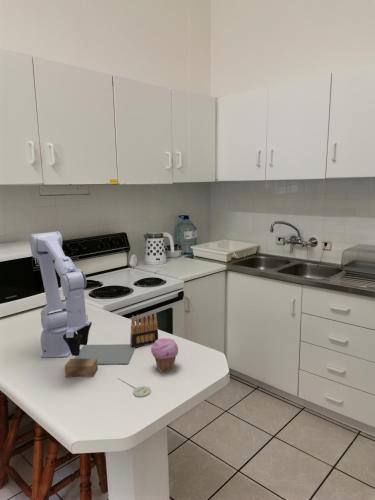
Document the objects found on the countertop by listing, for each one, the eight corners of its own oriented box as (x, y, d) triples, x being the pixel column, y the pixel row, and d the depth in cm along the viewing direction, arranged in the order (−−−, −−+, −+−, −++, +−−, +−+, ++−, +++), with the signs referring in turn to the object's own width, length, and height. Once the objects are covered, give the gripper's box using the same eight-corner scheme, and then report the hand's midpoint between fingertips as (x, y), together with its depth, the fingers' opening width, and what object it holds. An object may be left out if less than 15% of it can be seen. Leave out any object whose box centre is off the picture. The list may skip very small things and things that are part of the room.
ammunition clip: (131, 347, 138) (131, 316, 136) (130, 345, 139) (129, 315, 137) (158, 342, 143) (158, 312, 141) (156, 340, 144) (156, 310, 142)
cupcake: (149, 364, 125) (147, 336, 124) (173, 359, 129) (172, 332, 127) (157, 377, 117) (155, 347, 115) (182, 371, 120) (181, 342, 119)
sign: (124, 373, 120) (154, 390, 109) (124, 376, 120) (154, 392, 109) (110, 380, 116) (140, 397, 105) (110, 382, 116) (140, 400, 106)
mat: (69, 364, 127) (69, 363, 127) (84, 345, 142) (84, 344, 142) (128, 364, 126) (128, 363, 126) (136, 345, 141) (136, 344, 141)
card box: (65, 377, 119) (64, 366, 119) (71, 370, 124) (70, 358, 123) (93, 377, 119) (92, 366, 118) (97, 369, 124) (97, 358, 123)
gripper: (80, 317, 110) (84, 360, 113) (95, 301, 124) (98, 340, 127) (57, 317, 111) (61, 360, 113) (74, 302, 125) (78, 340, 127)
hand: (79, 349), depth 120 cm, fingers open, 7 cm apart
